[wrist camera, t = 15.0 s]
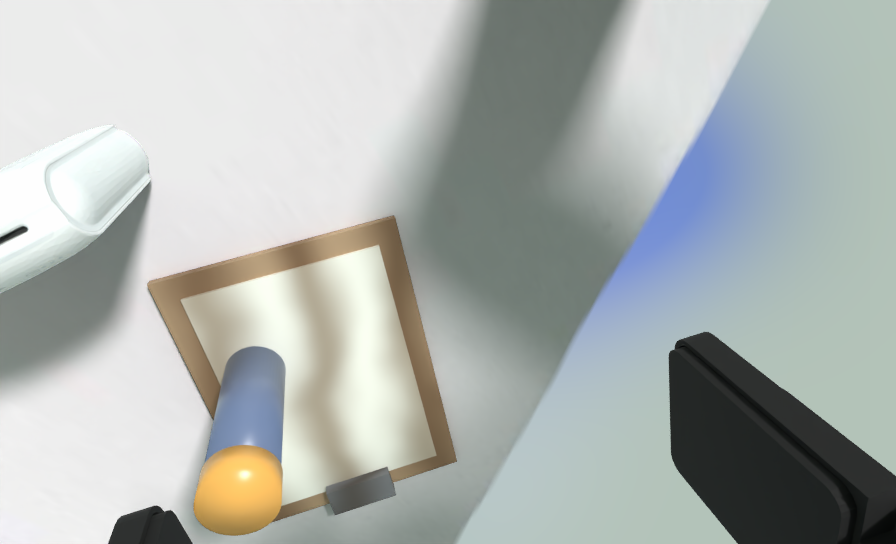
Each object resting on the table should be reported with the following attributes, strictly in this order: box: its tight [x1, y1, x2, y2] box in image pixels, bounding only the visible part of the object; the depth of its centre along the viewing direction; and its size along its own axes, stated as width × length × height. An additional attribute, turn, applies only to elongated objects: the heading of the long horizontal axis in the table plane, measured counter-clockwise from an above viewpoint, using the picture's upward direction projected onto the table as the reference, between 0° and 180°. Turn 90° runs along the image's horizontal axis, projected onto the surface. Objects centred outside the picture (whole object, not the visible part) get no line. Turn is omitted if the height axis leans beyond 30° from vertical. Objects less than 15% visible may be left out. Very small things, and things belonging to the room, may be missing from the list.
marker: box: [194, 346, 286, 536], centre depth 34 cm, size 4×4×12 cm
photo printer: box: [0, 124, 151, 294], centre depth 27 cm, size 10×4×12 cm, turn 112°
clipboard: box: [147, 216, 457, 522], centre depth 41 cm, size 16×22×2 cm
